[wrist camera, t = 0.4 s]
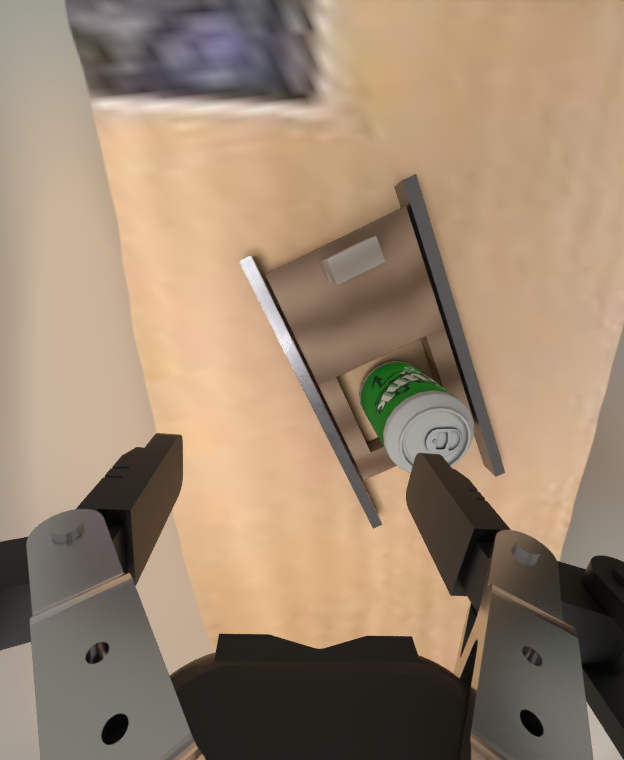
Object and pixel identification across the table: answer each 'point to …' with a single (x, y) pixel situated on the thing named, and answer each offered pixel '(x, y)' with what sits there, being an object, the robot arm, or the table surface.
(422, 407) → the soda can
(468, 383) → the lane rails
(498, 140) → the table surface
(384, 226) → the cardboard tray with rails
